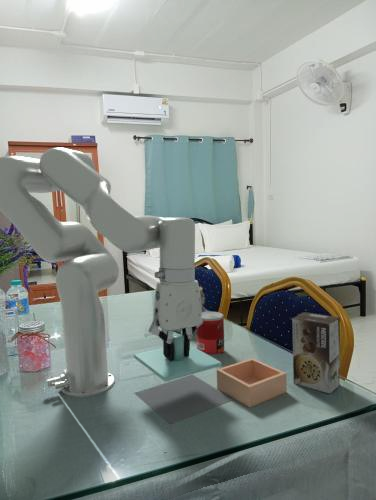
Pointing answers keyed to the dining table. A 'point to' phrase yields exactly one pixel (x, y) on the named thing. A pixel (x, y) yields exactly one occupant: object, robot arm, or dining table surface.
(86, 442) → the dining table surface
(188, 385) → the mat
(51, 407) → the dining table surface
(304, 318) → the coffee box
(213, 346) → the canned food
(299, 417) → the dining table surface
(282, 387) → the pink storage bin
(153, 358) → the lid
